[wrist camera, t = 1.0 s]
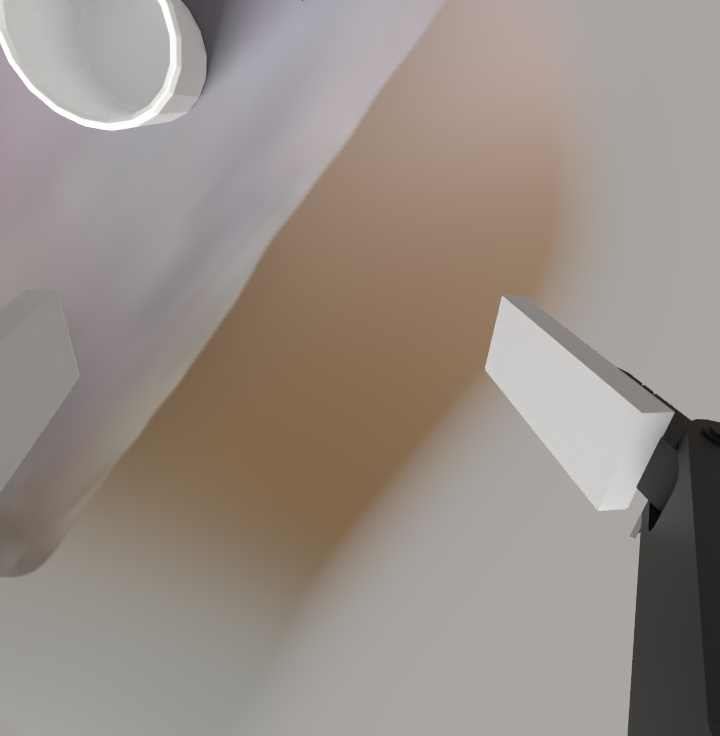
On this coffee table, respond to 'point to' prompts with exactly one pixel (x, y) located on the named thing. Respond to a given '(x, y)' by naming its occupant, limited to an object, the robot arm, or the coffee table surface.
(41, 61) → the mug
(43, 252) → the coffee table surface
